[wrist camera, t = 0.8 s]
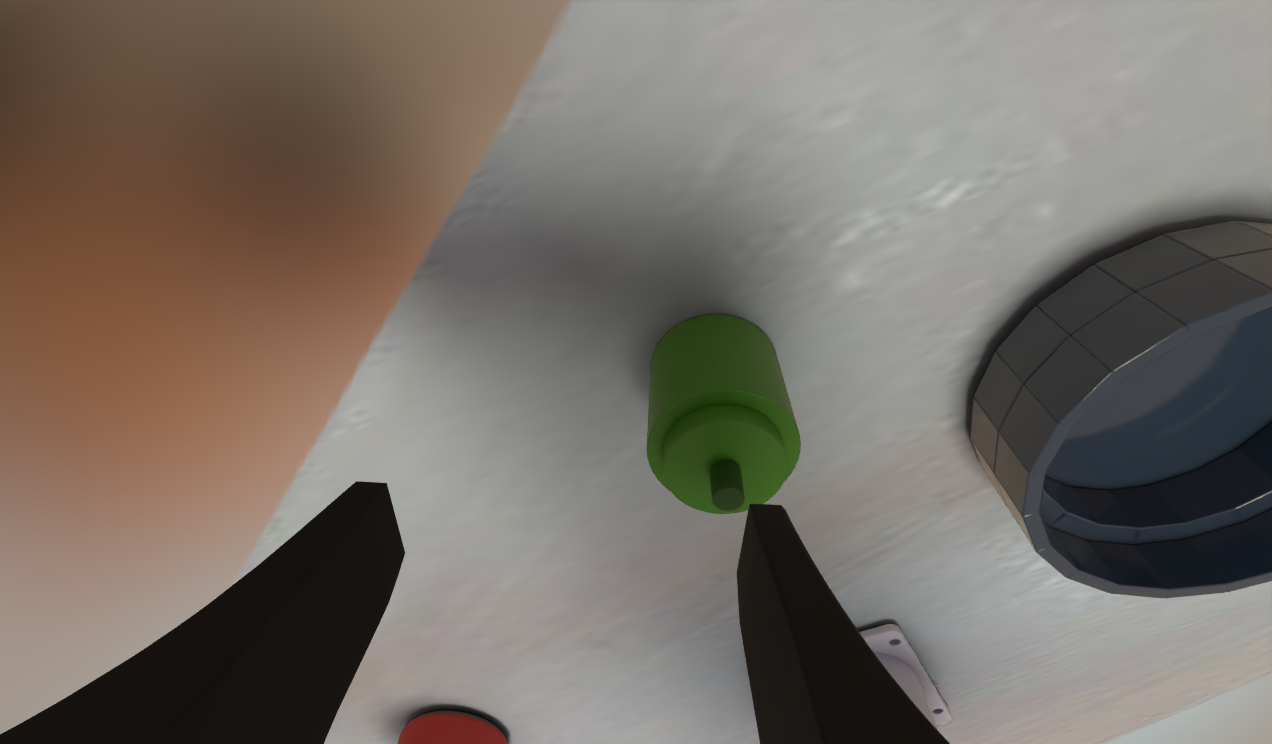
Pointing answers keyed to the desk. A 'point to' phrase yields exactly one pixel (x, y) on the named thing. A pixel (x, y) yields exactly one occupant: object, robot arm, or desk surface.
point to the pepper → (720, 415)
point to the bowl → (1143, 417)
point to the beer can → (451, 729)
